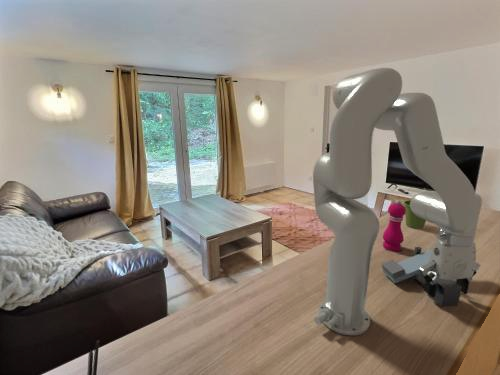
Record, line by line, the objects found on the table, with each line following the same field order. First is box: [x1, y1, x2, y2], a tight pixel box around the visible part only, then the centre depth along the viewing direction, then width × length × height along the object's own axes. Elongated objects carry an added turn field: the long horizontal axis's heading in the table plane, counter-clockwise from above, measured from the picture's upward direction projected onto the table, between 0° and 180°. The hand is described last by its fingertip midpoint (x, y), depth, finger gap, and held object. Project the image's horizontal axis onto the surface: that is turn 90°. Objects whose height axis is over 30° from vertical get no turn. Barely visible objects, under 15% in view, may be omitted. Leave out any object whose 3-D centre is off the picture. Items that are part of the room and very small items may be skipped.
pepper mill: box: [382, 199, 406, 252], centre depth 103 cm, size 7×7×20 cm
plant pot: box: [403, 199, 427, 230], centre depth 124 cm, size 12×12×11 cm
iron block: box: [426, 277, 462, 308], centre depth 75 cm, size 5×5×6 cm
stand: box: [410, 246, 436, 288], centre depth 85 cm, size 8×10×8 cm
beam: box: [381, 248, 433, 284], centre depth 84 cm, size 26×6×4 cm, turn 96°
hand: (445, 292), depth 75 cm, fingers open, 9 cm apart
